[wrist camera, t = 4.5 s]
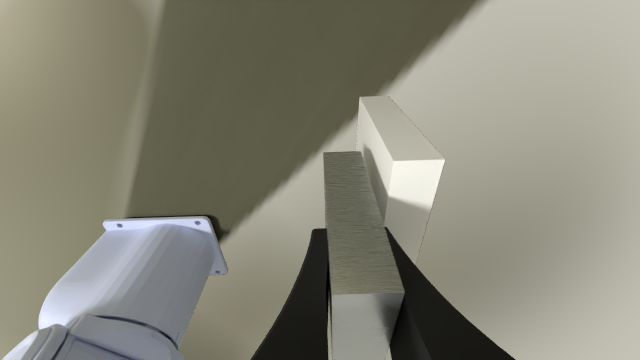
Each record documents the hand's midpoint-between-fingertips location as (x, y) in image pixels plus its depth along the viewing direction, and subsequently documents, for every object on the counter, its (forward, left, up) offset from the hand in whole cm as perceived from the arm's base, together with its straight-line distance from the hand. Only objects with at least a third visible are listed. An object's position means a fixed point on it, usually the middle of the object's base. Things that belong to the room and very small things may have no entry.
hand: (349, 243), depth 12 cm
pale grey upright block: (0, 0, -4) cm, 4 cm away
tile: (+3, 0, -10) cm, 10 cm away
